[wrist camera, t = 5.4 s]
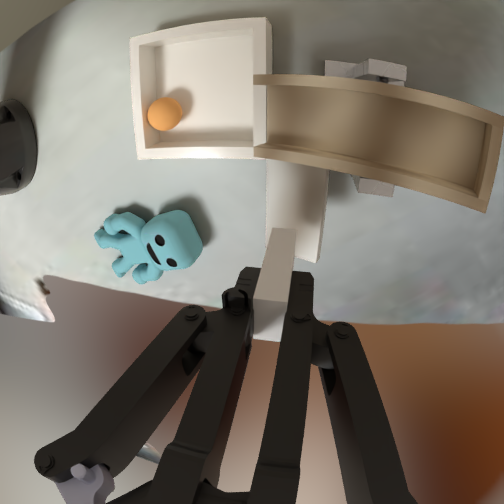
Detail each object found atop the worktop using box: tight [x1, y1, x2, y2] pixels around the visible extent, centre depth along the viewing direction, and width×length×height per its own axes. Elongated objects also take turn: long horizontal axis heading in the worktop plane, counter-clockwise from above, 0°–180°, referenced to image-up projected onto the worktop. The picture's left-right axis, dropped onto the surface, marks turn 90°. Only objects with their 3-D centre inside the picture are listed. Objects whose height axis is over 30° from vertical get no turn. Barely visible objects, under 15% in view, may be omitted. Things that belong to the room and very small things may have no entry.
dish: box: [130, 17, 272, 160], centre depth 22 cm, size 12×12×4 cm
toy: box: [94, 210, 203, 284], centre depth 32 cm, size 10×5×15 cm
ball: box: [148, 97, 182, 131], centre depth 23 cm, size 3×3×3 cm
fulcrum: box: [325, 58, 407, 197], centre depth 18 cm, size 11×10×8 cm
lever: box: [253, 74, 504, 263], centre depth 17 cm, size 15×14×3 cm
